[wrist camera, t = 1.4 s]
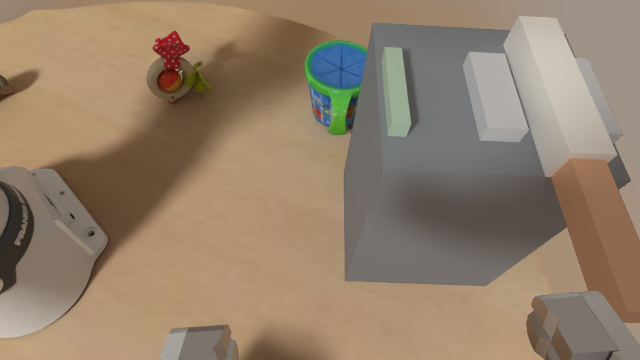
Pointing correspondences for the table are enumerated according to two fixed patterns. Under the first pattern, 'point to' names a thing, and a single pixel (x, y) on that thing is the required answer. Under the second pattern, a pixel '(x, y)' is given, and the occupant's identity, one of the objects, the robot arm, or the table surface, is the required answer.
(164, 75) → the bird rattle
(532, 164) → the cabinet
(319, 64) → the snack cup
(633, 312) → the lever bar
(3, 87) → the decorative bird
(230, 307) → the table surface
